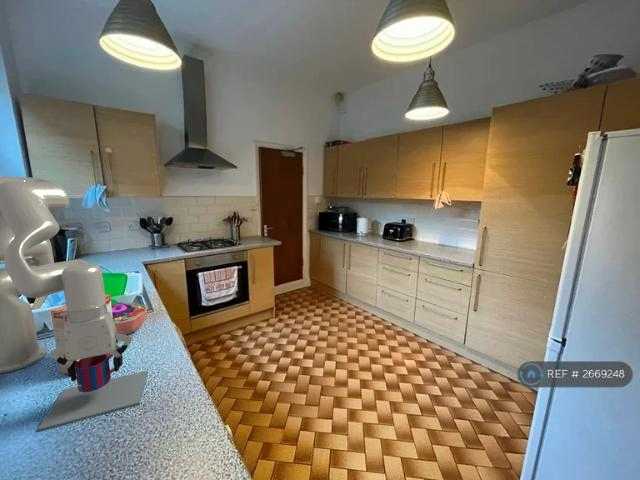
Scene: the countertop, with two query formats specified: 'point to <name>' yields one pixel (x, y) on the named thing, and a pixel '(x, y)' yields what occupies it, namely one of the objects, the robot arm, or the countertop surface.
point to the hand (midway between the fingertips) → (97, 372)
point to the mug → (93, 372)
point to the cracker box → (59, 327)
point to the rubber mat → (95, 400)
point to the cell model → (128, 317)
